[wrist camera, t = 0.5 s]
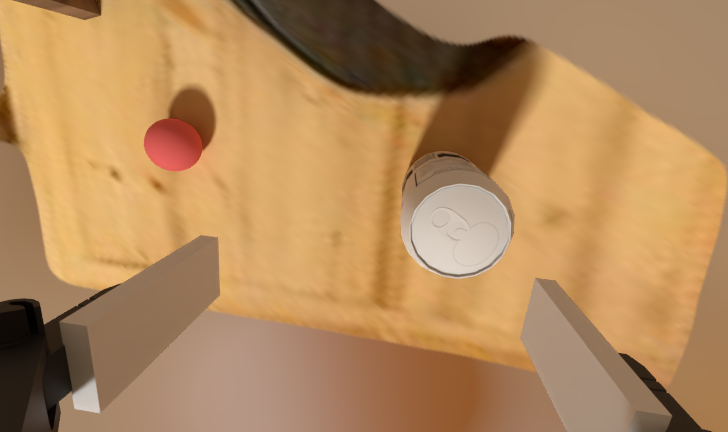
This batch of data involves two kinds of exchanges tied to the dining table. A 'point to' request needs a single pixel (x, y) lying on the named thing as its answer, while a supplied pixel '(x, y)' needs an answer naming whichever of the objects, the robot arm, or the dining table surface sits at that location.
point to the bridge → (68, 7)
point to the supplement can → (454, 216)
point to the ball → (173, 144)
